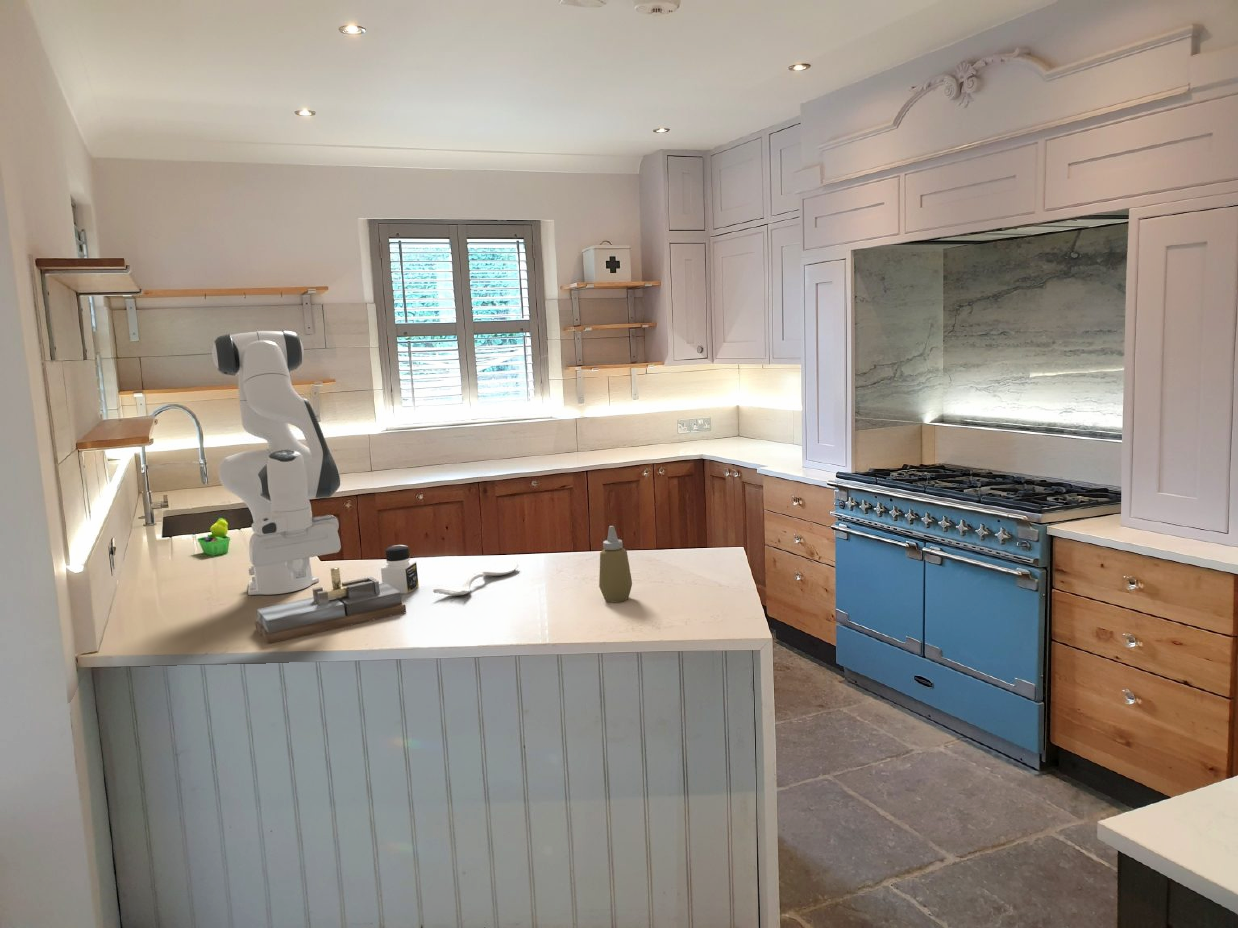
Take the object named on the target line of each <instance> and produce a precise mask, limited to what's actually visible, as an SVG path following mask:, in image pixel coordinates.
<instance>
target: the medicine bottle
mask: <svg viewBox="0 0 1238 928" xmlns="http://www.w3.org/2000/svg"><path fill="white" fill-rule="evenodd" d="M385 561H386V565H384V566H383V567H381V568H380V574H381V583H386V584H388V585H390V586H391V587H393V588H395V589H396V590H398V591H400V592H401V595H405V594H406V595H407V594H408V595H409V594H410V593H411V592H413V591H414V590H416V589H417V588H418V587H419V585H420V584H419V577H418V567H417V566H418V565H417V561H416V560H411V556H410V548H409V546H408V545H405V544H404V545H403V544H397V545H391V546H389V547H387V548H385ZM412 590H413V591H412Z"/></svg>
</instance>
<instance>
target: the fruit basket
mask: <svg viewBox="0 0 1238 928" xmlns="http://www.w3.org/2000/svg"><path fill="white" fill-rule="evenodd" d="M228 525H229V523H228V522H227V520H226V519H225V518H222V517H219V518H218V519H217V520H216V522H215V523H213V524H212V525H211V527H209V531H210V532H211V533H210V534H207V536H203V537H199V538H197V542H198V543H199V545H200V548H201V550H202V552H203V554H207V555H209V556H211V557H213V556H214V557H215V556H218V555H223V554H227V553H229V547H230V541H231V537H229V536H227V534H228V531H229V528H228Z"/></svg>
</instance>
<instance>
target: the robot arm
mask: <svg viewBox="0 0 1238 928" xmlns="http://www.w3.org/2000/svg"><path fill="white" fill-rule="evenodd" d="M304 355H305V349H304V345H303V343H302V341H301V339H300V336H299V334H297V333H296V332H295V331H290V330H282V331H279V330H277V331H275V330H256V331H249V332H241V333H235V334H230V333H228V334H224V335H223V334H222V335H220V336H217V337H216V339H215V340H214V343H213V346H212V349H211V357H212V360H213V361H212V362H213V363H214V365H215V366H216V368H217V371H218V372H220V373H221V374H223V375H227V376H236V375H238V384H237V385H238V386H237V387H238V400H239V407H240V409H239V410H240V417H241V425H242V427H243V429H244V430H245V432H247V433H248V434H250V435H252V436H254V437H258V438H260V439H263V440H265V441H266V442H267V444H268V448H266V449H260V450H259V449H257V450H250V451H241V452H238V453H235V454H232V455H229V456H225V457H224V458H223V459H221V462H220V464H219V467H218V474H217V475H218V479H219V482H220V484H221V485H222V486H223V488H224V489H225V490H227V491H228V492H230V493H232V494H234V495H235V496H237V497H238V498H240V499H241V500H242V502H244V504H245V505H246V506H247V508H248V509H249V511H250V514H251V516H252V520H253V522H252V523H251V530H252V532H253V533H252V534H251V536H250V539H249V545H248V546H249V554H248V555H249V562H250V564H251V565H252V566H249V567H248V575H249V576H252V577H251V579H249V580H248V589H247V593H248V594H247V595H249V596H253V595H254V596H255V595H269V596H270V595H281V594H286V593H287V594H288V593H292V592H297V591H300V590H303V589H305V588H308V587H310V586H311V585H312V584H315V583H318V582H319V577H318V576H315V575H313V572H312V567H311V559H310V558H314V557H319V556H324V555H325V556H326V555H329V554H330V555H331V554H336V553H339V552H340V550H341V548H342V545H341V539H340V536H339V532H338V531H339V527H340V526H339V519H338V518H337V516H334V515H332V514H325V515H318V516H313V512H312V505H311V504H312V503H311V502H310V501H311V500H310V499H314V498H315V499H325V498H326V499H329V498H331V497H332V496H333V495H334V494H335V493H336V492H337V491H338V490H339V488H340V486H341V474H340V470H339V468H338V466H337V464H336V462H335V459H334V458H333V455H332V453H331V451H330V449H329V446H328V443H327V441H326V438H325V435H324V433H323V430H322V429H321V425H320V423H319V421H318V418H317V416H316V413H315V411H314V409H313V407H312V405H311V403H310V401H308V399H307V398H304V397H302V396H300V395H299V394H298V393H297V391H296V390H295V389H294V386H293V383H292V379H291V377H290V376H291V375H290V374H291V373H290V372H292V371H295V370H297V369H298V368H299V367H300V366H301V365H302V363H303V359H304ZM289 425H292V426H294V427H295V428H298V429H299V430H300V431H301V433H302V434H303V437H304V439H305V442H306V444H307V446H306V445H304V444H303V443H302V442H300V441H299V440H298V439H297V438H296V437H295V436H294V434H293V433H292V431H291V429H290V427H289Z"/></svg>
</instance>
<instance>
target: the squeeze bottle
mask: <svg viewBox="0 0 1238 928" xmlns="http://www.w3.org/2000/svg"><path fill="white" fill-rule="evenodd" d="M602 546H603V547H602V548H603V549H602V550H601V551H600V553H599V583H598V585H599V586H598V587H599V589H600V591H601V594H602V596H603V598H604V601H606V602H610V603H611V602H612V603H619V602H623V601H627V600H628V599H629V598H630V595H631V594H630V593H631V591H632V586H633V580H632V574H631V569H630V562H629V556H628V551H627V550H626V549H625V548H623V546H624V545H623V540H622V539H620V538H619V539H618V535H617V531H616V529H615V525H610V526H609V527H608V533H607V539H606V540H604V541H603V542H602Z"/></svg>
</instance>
